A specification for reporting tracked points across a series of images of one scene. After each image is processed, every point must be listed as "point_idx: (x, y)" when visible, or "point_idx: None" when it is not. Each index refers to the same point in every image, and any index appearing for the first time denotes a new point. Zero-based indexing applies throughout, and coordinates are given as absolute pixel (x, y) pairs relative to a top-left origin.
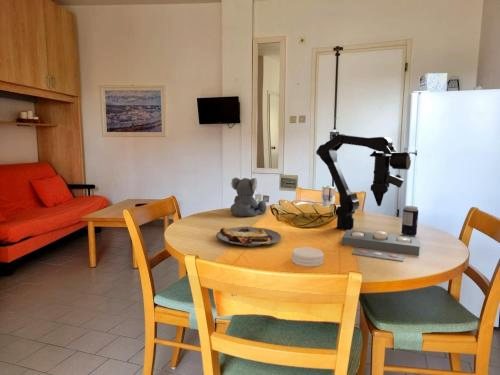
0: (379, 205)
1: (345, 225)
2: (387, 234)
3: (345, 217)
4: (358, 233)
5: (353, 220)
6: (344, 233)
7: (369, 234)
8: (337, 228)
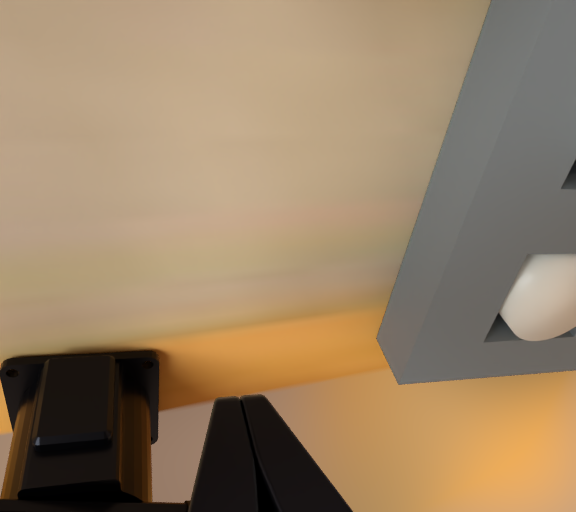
0: (268, 417)
1: (148, 417)
2: (540, 50)
3: (151, 493)
4: (549, 303)
5: (86, 418)
6: (517, 374)
7: (542, 224)
8: (157, 430)
